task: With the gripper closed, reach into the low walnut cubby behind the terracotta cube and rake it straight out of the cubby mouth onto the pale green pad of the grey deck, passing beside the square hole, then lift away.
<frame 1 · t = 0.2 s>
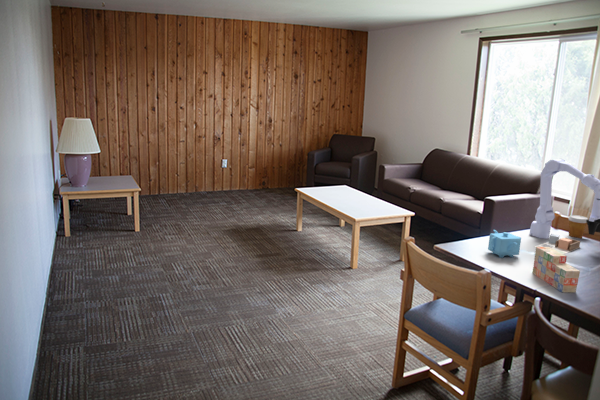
hand: (594, 233, 239), 10 cm above the table, tool pointing down, fingers open, 7 cm apart
teapot: (502, 254, 233), on the table
slate block: (553, 242, 250), point 1 cm above the table, touching deck
disposable coffee cup: (574, 238, 265), on the table
walnut cubby: (567, 247, 244), resting on deck
stack of blocks: (553, 282, 200), on the table
deck: (556, 249, 244), on the table
terracotta cube: (564, 248, 242), point 1 cm above the table, touching deck
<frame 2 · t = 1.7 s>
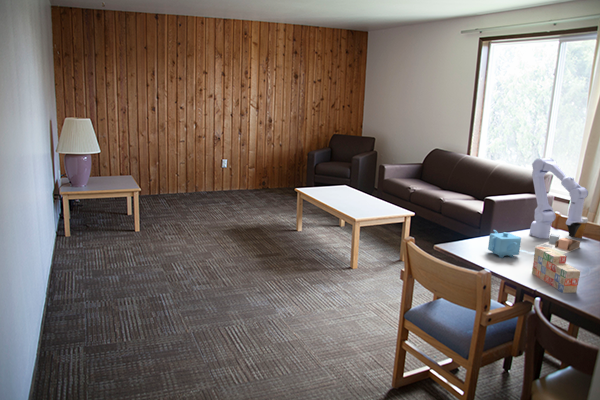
hand: (571, 236, 244), 6 cm above the table, tool pointing down, fingers closed
nothing on the table moved.
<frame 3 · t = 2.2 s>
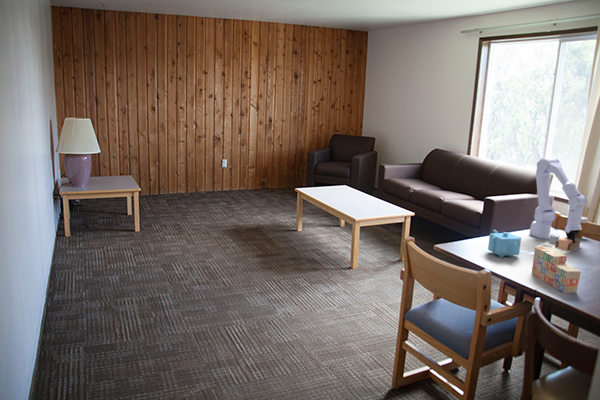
hand: (570, 243, 245), 2 cm above the table, tool pointing down, fingers closed
nothing on the table moved.
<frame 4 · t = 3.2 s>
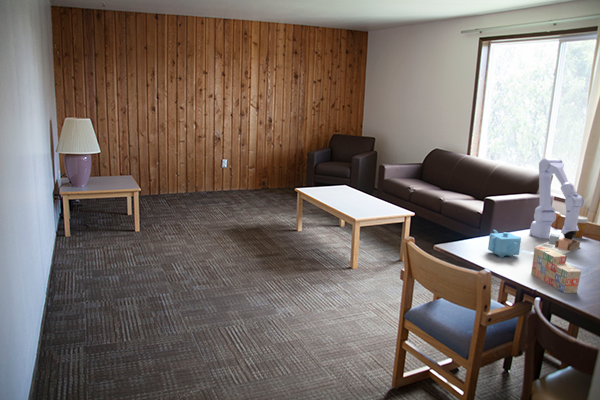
hand: (567, 244, 243), 2 cm above the table, tool pointing down, fingers closed, pressing on terracotta cube
terracotta cube: (564, 247, 242), point 1 cm above the table, touching deck, gripper
everything else where it was.
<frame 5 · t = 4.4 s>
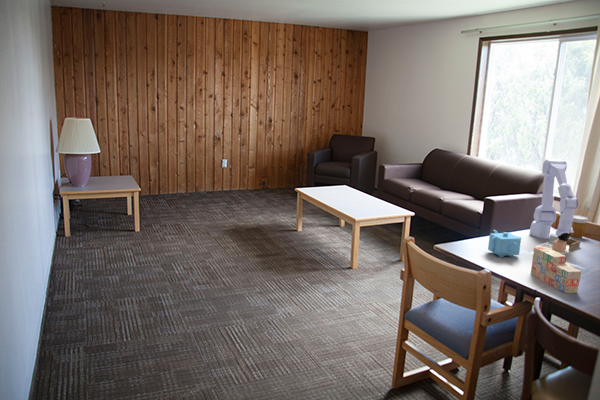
hand: (561, 246, 239), 3 cm above the table, tool pointing down, fingers closed, pressing on terracotta cube
terracotta cube: (558, 249, 238), point 2 cm above the table, tilted 8°, touching deck, gripper
everything else where it was.
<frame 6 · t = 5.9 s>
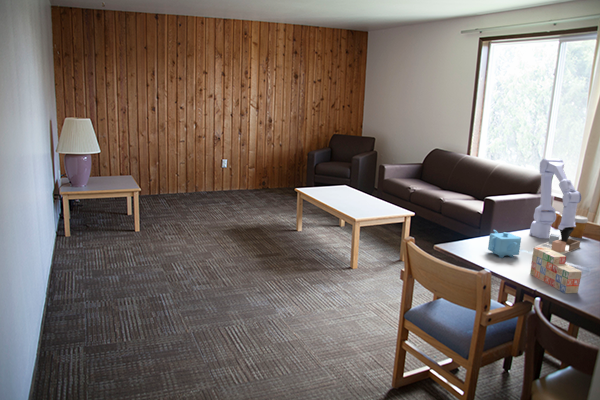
hand: (564, 241, 240), 5 cm above the table, tool pointing down, fingers closed
terracotta cube: (558, 250, 238), point 1 cm above the table, touching deck
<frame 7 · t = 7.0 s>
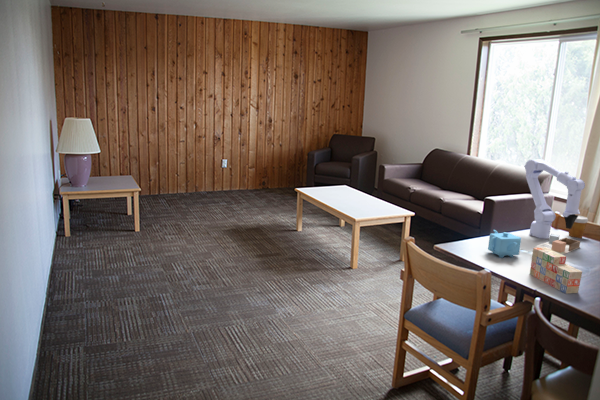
hand: (568, 228, 246), 10 cm above the table, tool pointing down, fingers closed
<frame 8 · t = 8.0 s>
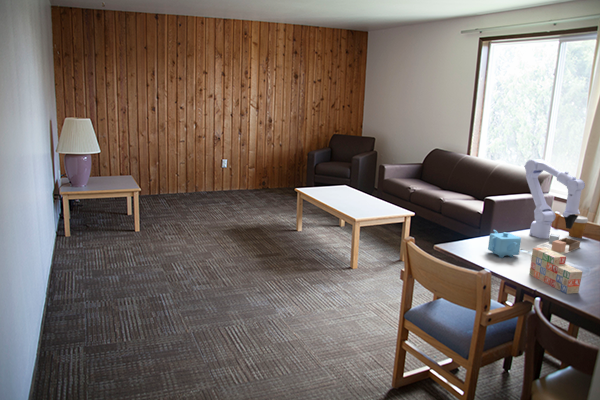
hand: (568, 228, 246), 10 cm above the table, tool pointing down, fingers closed
at the end: terracotta cube inside the target area (1.1 cm from its centre), point 1.2 cm above the table; terracotta cube tilted 0°; the gripper is holding nothing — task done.
